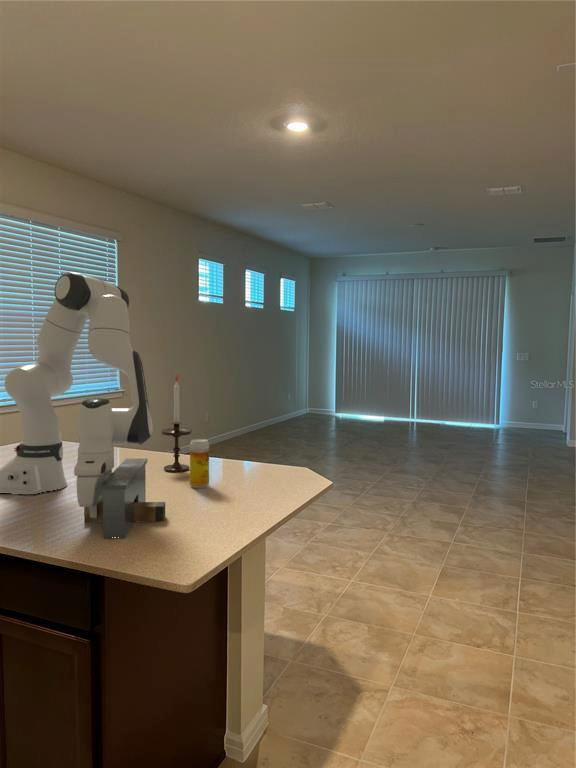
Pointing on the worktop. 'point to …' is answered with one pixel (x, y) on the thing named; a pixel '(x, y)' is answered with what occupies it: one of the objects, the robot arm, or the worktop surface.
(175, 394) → the candlestick
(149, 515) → the rod
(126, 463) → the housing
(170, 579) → the worktop surface
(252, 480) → the worktop surface
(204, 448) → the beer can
